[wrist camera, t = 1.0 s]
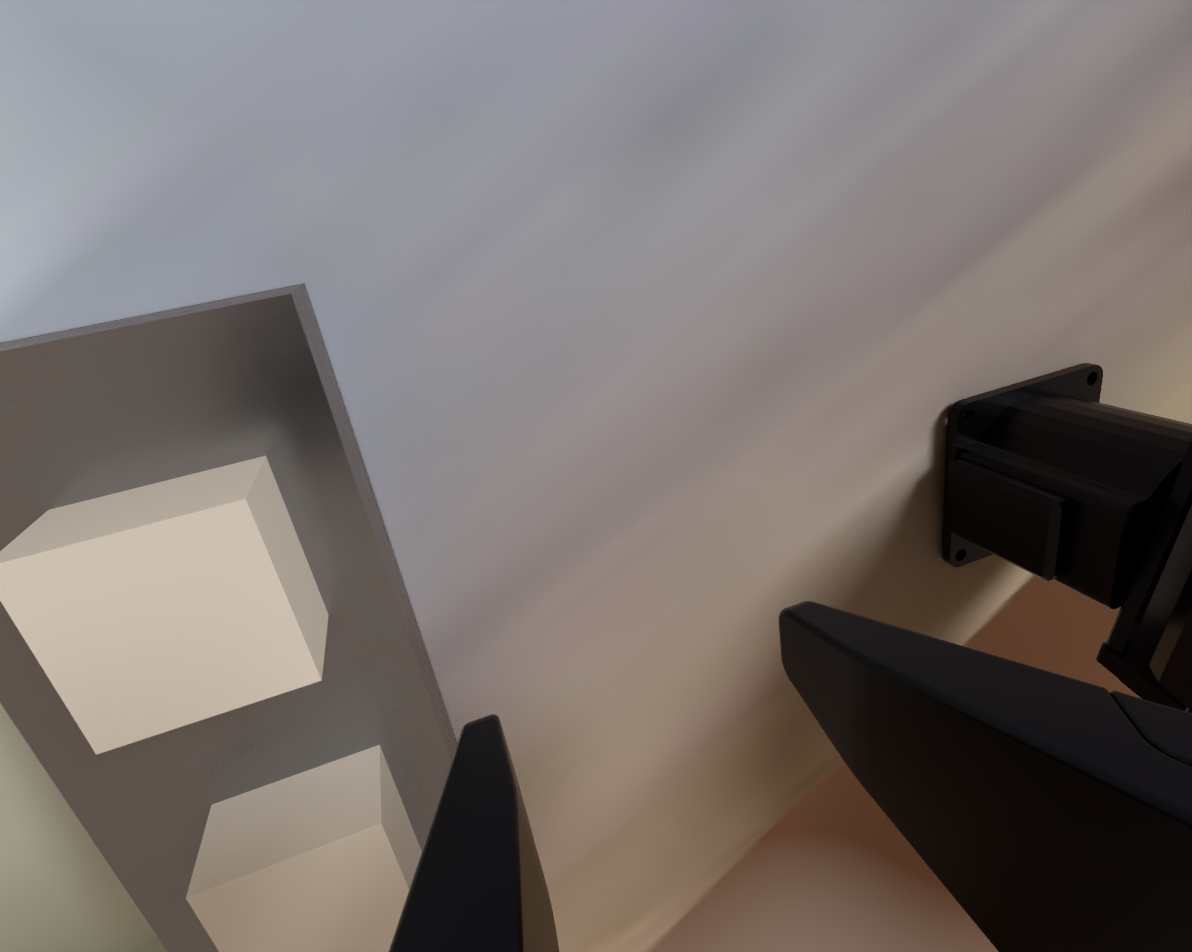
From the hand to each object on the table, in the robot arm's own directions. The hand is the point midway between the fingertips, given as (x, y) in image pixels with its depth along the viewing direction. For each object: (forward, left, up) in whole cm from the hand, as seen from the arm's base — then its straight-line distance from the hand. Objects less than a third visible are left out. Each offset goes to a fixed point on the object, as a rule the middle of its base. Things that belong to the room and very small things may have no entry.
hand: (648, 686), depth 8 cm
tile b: (+7, +8, -8) cm, 13 cm away
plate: (+8, +4, -11) cm, 14 cm away
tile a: (+7, 0, -8) cm, 11 cm away
